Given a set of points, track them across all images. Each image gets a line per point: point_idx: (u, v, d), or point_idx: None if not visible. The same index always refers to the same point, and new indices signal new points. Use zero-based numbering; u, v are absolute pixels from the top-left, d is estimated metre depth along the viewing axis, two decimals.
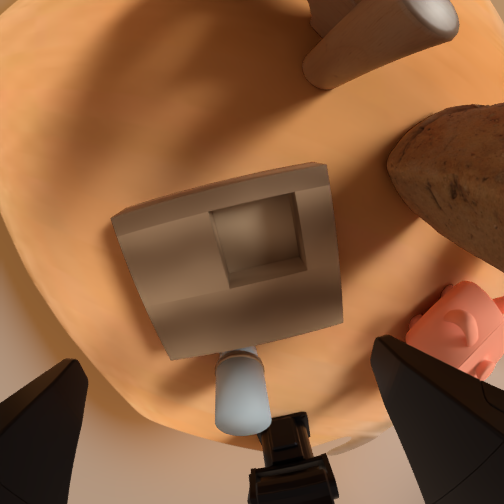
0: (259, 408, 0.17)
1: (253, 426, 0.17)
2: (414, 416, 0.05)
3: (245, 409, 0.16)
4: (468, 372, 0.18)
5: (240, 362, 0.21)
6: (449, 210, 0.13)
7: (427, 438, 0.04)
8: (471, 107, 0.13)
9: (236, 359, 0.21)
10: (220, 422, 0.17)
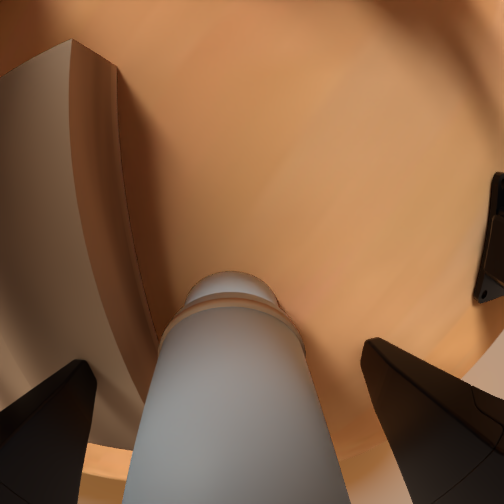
0: None
1: None
2: (403, 420, 0.05)
3: None
4: None
5: None
6: None
7: (416, 443, 0.04)
8: None
9: None
10: None
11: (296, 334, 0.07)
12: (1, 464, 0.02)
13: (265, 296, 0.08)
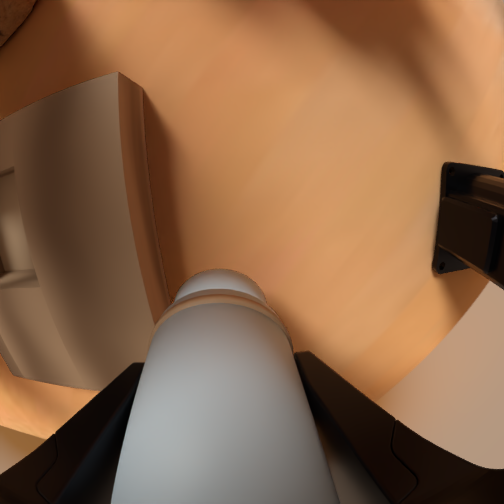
0: None
1: None
2: None
3: None
4: None
5: None
6: None
7: (332, 472, 0.04)
8: None
9: None
10: None
11: (283, 330, 0.07)
12: (73, 497, 0.02)
13: (253, 293, 0.09)
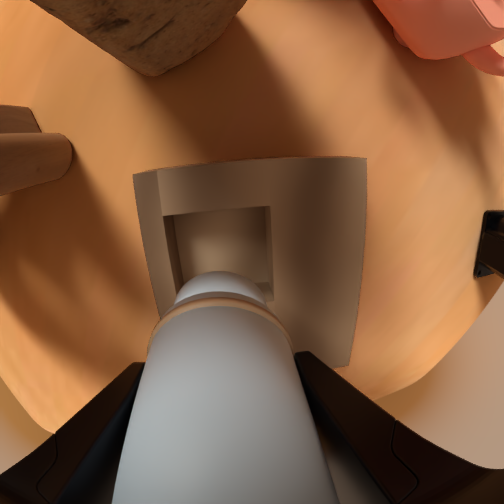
0: None
1: None
2: None
3: None
4: None
5: None
6: (159, 14, 0.06)
7: (331, 472, 0.04)
8: None
9: None
10: None
11: (284, 333, 0.07)
12: (73, 497, 0.02)
13: (253, 296, 0.09)
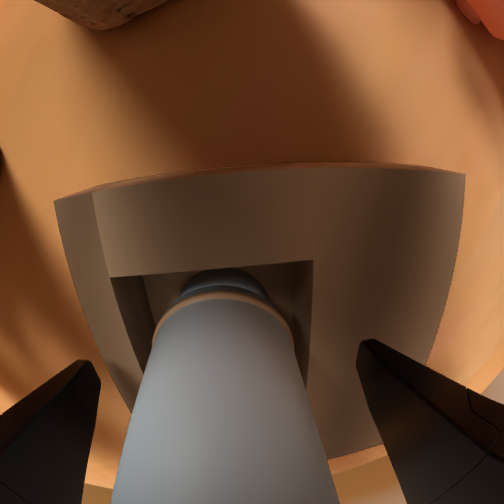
0: None
1: None
2: (397, 422, 0.05)
3: None
4: None
5: None
6: None
7: (410, 446, 0.04)
8: None
9: None
10: None
11: (284, 326, 0.07)
12: (5, 466, 0.02)
13: (255, 291, 0.09)
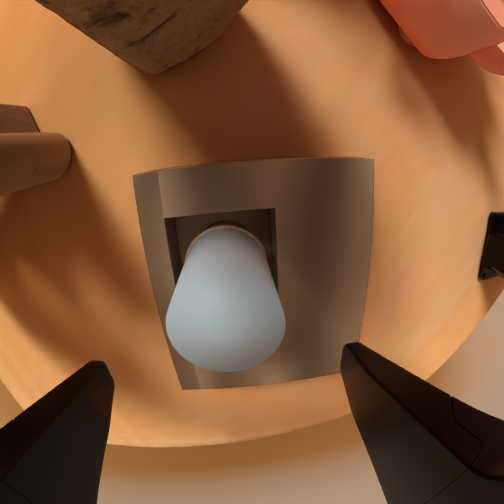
0: (176, 294, 0.08)
1: (245, 313, 0.09)
2: (379, 429, 0.05)
3: (174, 318, 0.09)
4: None
5: None
6: (160, 8, 0.06)
7: (391, 453, 0.04)
8: None
9: None
10: (217, 364, 0.10)
11: (261, 246, 0.14)
12: (20, 474, 0.02)
13: None
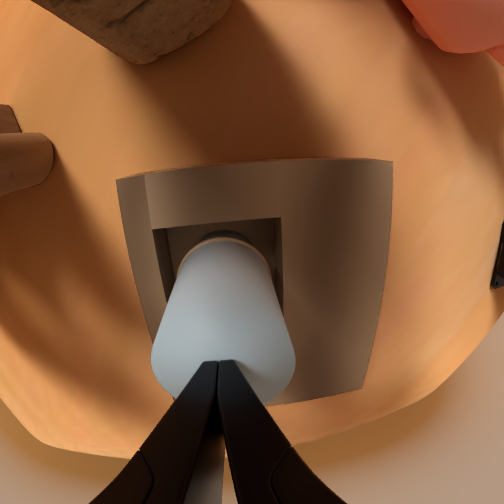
0: (161, 331, 0.07)
1: (246, 352, 0.07)
2: None
3: (160, 357, 0.07)
4: None
5: None
6: None
7: None
8: None
9: None
10: None
11: (264, 261, 0.12)
12: None
13: None
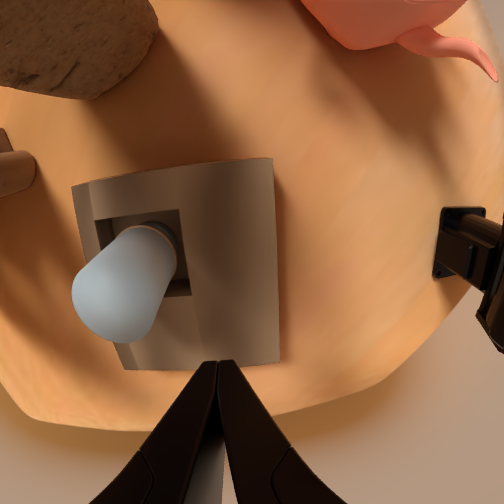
0: None
1: (120, 293, 0.10)
2: None
3: (76, 295, 0.10)
4: None
5: None
6: (61, 63, 0.07)
7: None
8: None
9: None
10: (111, 335, 0.11)
11: (168, 242, 0.15)
12: None
13: (163, 230, 0.17)
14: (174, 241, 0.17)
